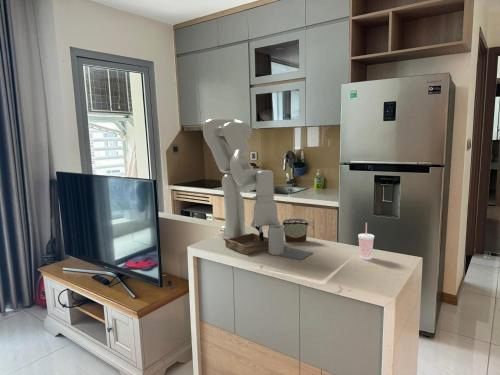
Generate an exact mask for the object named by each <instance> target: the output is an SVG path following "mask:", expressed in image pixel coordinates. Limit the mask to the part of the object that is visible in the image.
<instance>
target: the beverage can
mask: <svg viewBox="0 0 500 375" xmlns="http://www.w3.org/2000/svg"><path fill="white" fill-rule="evenodd" d="M269 227H270V228H269ZM268 235H269V249H268V253H269V255H272V256H280V254H283V253H284V252H285V234H284V226H283V225H282V224H280V225H270V226H269V225H268V231H267V236H268Z"/></svg>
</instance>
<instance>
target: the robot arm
mask: <svg viewBox="0 0 500 375" xmlns="http://www.w3.org/2000/svg"><path fill="white" fill-rule="evenodd" d="M252 132H253V131H252V127H251V125H250V124H249V122H246V121H243V120H238V119H235V118H209V119H207V120H206V121H204V123H203V126H202V134H203V139H204V140H205V143H206V144H207V146H208V147H209V149H210V150H211V153H212V156H213V158H214V161H215V163H216V166H217V168H218V170H219V172H221V173H224V175H223V176H222V179H221V187H222V191H223V200H224V223H225V224H224V225H225V226H221V228H220V229H219V231H220V232H223V234H222V236H221V237H222V239H224V240H225V239H228V238H233V237H237V236H242V235H246V234H248V232H246V219H245V218H246V216H245V212H246V210H245V209H246V208H245V200H244V197H243V195H242V194H241V192H247V191H252V190H254V189H256V190H255V194H256V195H255V196H252V200H253V201H255V202H254V205H253V206H254V207H253V219H252V222H251V223H250V227H252V228H253V229H256V230H257V231H258V235H259V239H261V241H264V239H263V236H264V232H263V226H264V227H266V226H267V227H268V229H269V228H270V227H269V226H270V225H281V222H280V221H279V215H278V207H277V202H276V201H275V195H274V193H275V192H274V189H275V188H274V180H275V179H274V172H273V171H272V170H270V169H262V168H252V165H251V163H250V161H249V158H248V157H247V154H248V153H249V152H250V145H249V143H248V141H247V140H249V139H251V137H252V134H253V133H252ZM221 137H224V139H225V140H224V139H223V138H221ZM225 173H226V174H225ZM267 238H268V240H269V235H268V234H267Z"/></svg>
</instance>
